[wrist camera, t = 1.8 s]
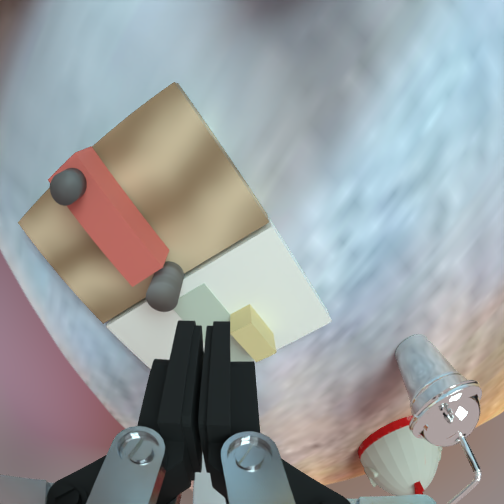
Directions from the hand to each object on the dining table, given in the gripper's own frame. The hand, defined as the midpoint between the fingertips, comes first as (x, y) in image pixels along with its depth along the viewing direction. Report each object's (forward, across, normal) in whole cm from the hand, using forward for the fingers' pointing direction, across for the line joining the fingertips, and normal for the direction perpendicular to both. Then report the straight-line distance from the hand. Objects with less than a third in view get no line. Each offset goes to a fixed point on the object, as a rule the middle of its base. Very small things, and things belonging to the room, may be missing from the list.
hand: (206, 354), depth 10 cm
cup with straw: (+17, -22, +17) cm, 32 cm away
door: (+17, +1, +11) cm, 20 cm away
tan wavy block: (+17, +7, +1) cm, 18 cm away
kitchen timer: (+17, -28, +39) cm, 51 cm away
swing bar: (+15, +8, 0) cm, 17 cm away
